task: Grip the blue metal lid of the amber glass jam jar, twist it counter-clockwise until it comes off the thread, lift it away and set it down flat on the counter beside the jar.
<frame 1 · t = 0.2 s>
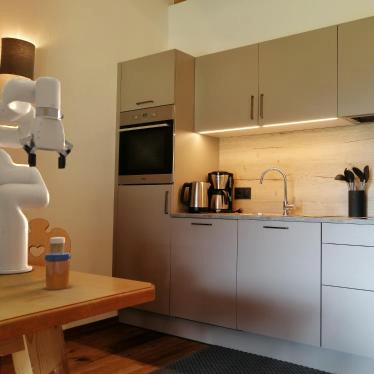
hand: (47, 167, 137), 36 cm above the table, tool pointing down, fingers open, 9 cm apart
jar: (57, 287, 124), on the table
lid: (58, 254, 124), point 9 cm above the table, screwed on, not yet turned
sprinkles bottle: (56, 279, 138), on the table
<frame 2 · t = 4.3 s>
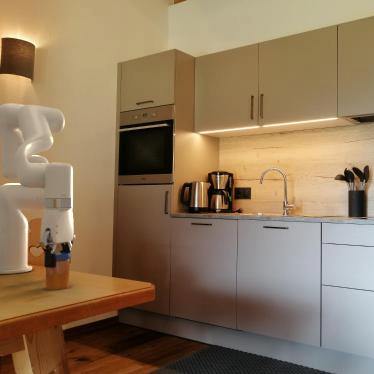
hand: (57, 264, 124), 7 cm above the table, tool pointing down, fingers closed on lid, 6 cm apart
lid: (58, 254, 124), point 9 cm above the table, screwed on, not yet turned, touching gripper
everything else where it was.
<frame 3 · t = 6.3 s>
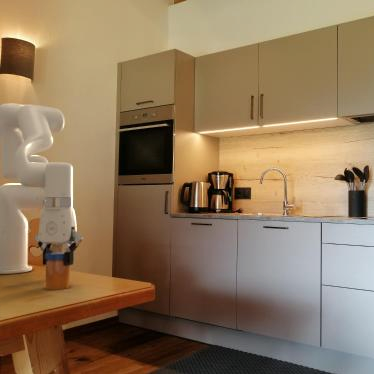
hand: (58, 264, 124), 7 cm above the table, tool pointing down, fingers closed on lid, 6 cm apart
lid: (58, 254, 124), point 10 cm above the table, turned 82° so far, risen 0.2 cm, still on its thread, touching gripper
everything else where it was.
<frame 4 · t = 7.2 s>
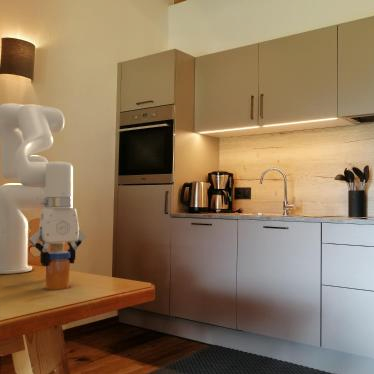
hand: (58, 263, 124), 7 cm above the table, tool pointing down, fingers closed on lid, 6 cm apart
lid: (58, 253, 124), point 10 cm above the table, off its thread, touching gripper
everything else where it was.
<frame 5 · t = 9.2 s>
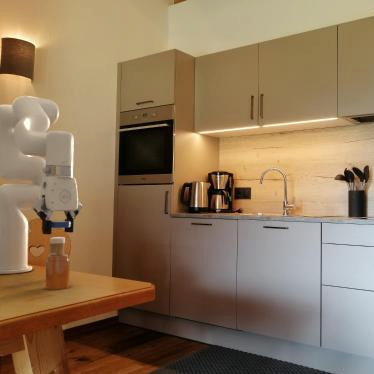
hand: (58, 232, 124), 16 cm above the table, tool pointing down, fingers closed on lid, 6 cm apart
lid: (58, 222, 124), point 19 cm above the table, off its thread, touching gripper
everything else where it was.
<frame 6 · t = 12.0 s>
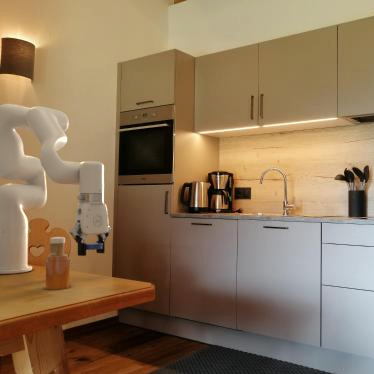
hand: (91, 253, 137), 8 cm above the table, tool pointing down, fingers closed on lid, 6 cm apart
lid: (91, 244, 137), point 11 cm above the table, off its thread, touching gripper
everything else where it was.
when the fingers open (1 cm above the table, at t = 14.5 s): lid drops 3 cm, point 1 cm above the table.
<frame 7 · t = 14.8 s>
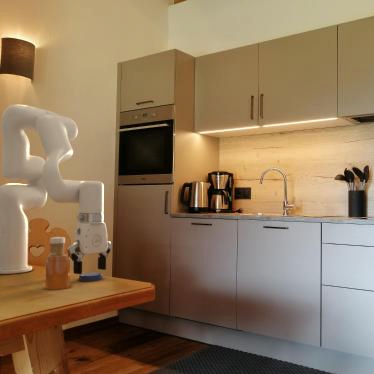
hand: (90, 271, 137), 3 cm above the table, tool pointing down, fingers open, 9 cm apart
lid: (90, 275, 136), point 1 cm above the table, off its thread
everything else where it was.
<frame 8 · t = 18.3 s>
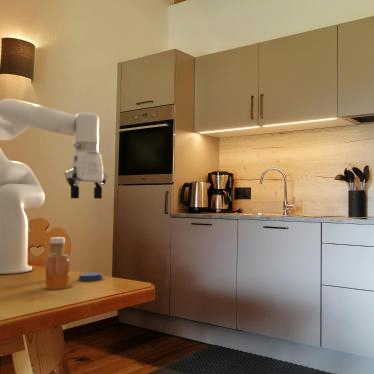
hand: (86, 198, 144), 26 cm above the table, tool pointing down, fingers open, 9 cm apart
nothing on the table moved.
at the end: lid inside the target area (0.6 cm from its centre), point 1.3 cm above the table; the gripper is holding nothing; jar tilted 0° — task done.
